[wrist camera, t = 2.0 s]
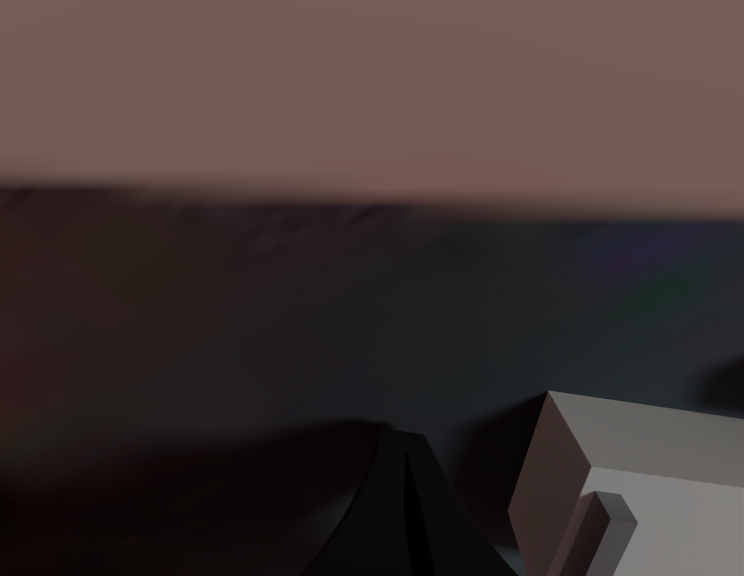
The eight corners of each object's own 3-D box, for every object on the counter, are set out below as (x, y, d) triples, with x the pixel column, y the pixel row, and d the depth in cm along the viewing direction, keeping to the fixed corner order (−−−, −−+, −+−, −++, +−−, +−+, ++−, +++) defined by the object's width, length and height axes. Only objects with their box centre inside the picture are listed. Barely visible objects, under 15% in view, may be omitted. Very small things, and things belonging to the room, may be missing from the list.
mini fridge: (747, 416, 14) (881, 531, 10) (686, 530, 15) (782, 665, 12) (546, 386, 14) (607, 493, 10) (505, 505, 15) (545, 635, 12)
